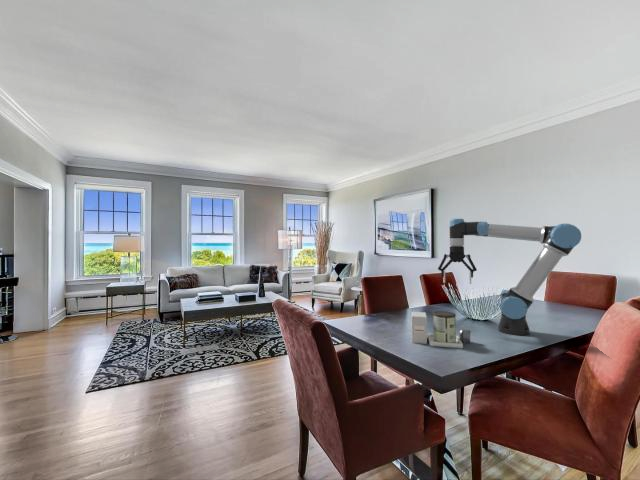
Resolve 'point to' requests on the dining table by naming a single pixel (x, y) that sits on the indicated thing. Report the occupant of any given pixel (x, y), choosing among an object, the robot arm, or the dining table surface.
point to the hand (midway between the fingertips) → (457, 283)
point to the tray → (442, 344)
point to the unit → (419, 327)
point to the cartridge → (464, 336)
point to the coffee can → (444, 327)
